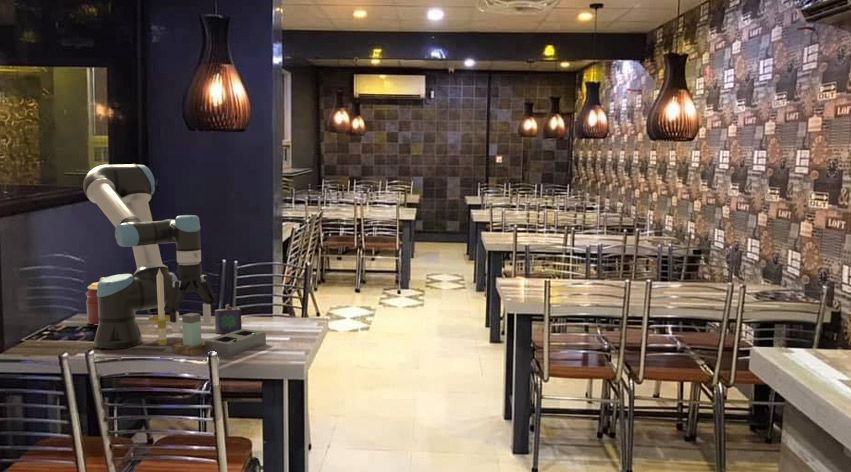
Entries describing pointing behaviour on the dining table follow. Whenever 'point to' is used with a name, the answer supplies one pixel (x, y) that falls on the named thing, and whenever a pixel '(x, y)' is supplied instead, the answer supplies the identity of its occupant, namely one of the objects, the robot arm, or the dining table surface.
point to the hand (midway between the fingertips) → (191, 327)
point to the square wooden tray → (188, 348)
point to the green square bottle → (191, 329)
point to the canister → (92, 304)
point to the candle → (160, 311)
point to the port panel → (235, 342)
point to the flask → (227, 320)
